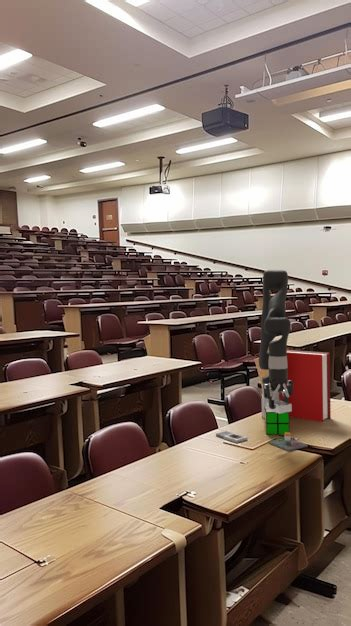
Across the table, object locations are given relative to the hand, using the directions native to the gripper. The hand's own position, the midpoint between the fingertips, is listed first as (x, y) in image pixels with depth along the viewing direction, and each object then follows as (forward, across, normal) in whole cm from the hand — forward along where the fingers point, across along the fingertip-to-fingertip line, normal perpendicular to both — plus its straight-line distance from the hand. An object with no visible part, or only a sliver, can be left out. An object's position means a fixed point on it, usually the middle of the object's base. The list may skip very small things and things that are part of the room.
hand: (278, 407), depth 196 cm
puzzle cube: (+16, -11, -15) cm, 25 cm away
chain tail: (+16, +11, -18) cm, 26 cm away
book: (+16, -38, -29) cm, 50 cm away
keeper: (+15, -3, +2) cm, 16 cm away
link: (+1, 0, 0) cm, 1 cm away
